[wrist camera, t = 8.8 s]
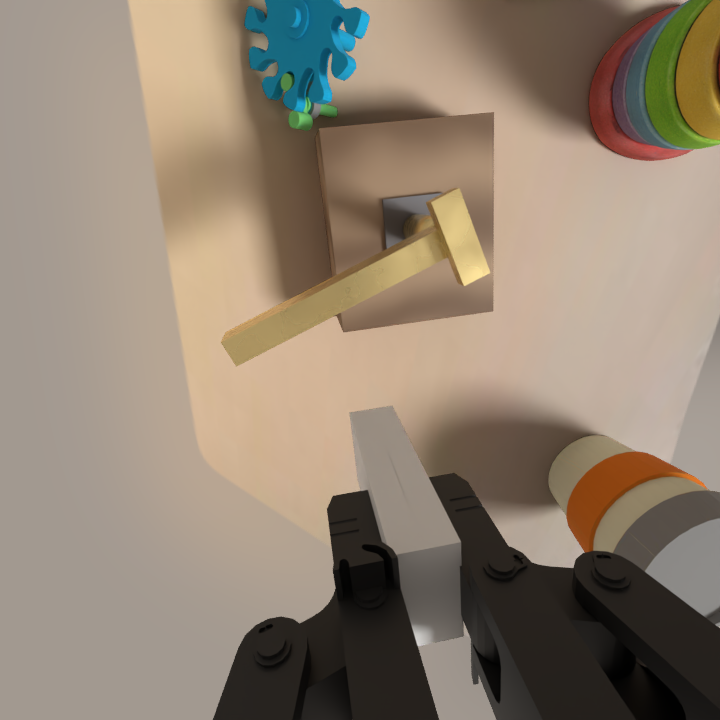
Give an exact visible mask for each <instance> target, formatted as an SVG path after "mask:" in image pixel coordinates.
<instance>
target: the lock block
mask: <svg viewBox="0 0 720 720" xmlns="http://www.w3.org/2000/svg"><path fill="white" fill-rule="evenodd" d="M315 143H316V151H317V159H318V167H319V175H320V183H321V192H322V200H323V208H324V216H325V224H326V232H327V240H328V248H329V257H330V265H331V273H332V277H333V276H335V275H337V274H339V273H341V272H343V271H345V270H347V269H349V268H351V267H353V266H355V265H357V264H358V263H360V262H362V261H364V260H366V259H368V258H370V257H372V256H374V255H376V254H378V253H380V252H382V251H384V250H385V249H387V248H389V247H391V246H393V245H395V244H397V243H399V242H401V241H403V240H405V239H406V238H405V236H404V234H403V225H404V223H405V221H406V219H407V218H408V217H410V216H411V215H414V214H422V215H430V212H429V210H428V207H427V205H426V202H427V201H429V200H431V199H433V198H435V197H437V196H439V195H441V194H442V193H444V192H446V191H448V190H450V189H452V188H460V191H461V193H462V196H463V199H464V202H465V204H466V207H467V210H468V213H469V215H470V218H471V221H472V224H473V226H474V229H475V232H476V235H477V237H478V240H479V243H480V246H481V248H482V251H483V254H484V257H485V259H486V262H487V265H488V267H489V270H490V273H489V274H487V275H485V276H483V277H481V278H479V279H477V280H475V281H474V282H472V283H470V284H468V285H466V286H462V285H460V284H458V283H457V280H456V278H455V275H454V273H453V270H452V268H451V265H450V263H449V260H448V258H446V259H444V260H442V261H440V262H438V263H436V264H434V265H432V266H430V267H428V268H426V269H424V270H422V271H420V272H418V273H416V274H415V275H413V276H411V277H409V278H407V279H405V280H403V281H401V282H399V283H397V284H395V285H393V286H391V287H389V288H387V289H385V290H384V291H382V292H380V293H378V294H376V295H374V296H372V297H370V298H368V299H366V300H364V301H362V302H360V303H358V304H356V305H354V306H353V307H351V308H349V309H347V310H345V311H343V312H341V313H339V314H337V318H338V320H339V323H340V325H341V328H342V330H343V332H349V331H356V330H363V329H371V328H378V327H385V326H392V325H399V324H406V323H413V322H420V321H427V320H434V319H441V318H449V317H456V316H463V315H470V314H477V313H484V312H491V311H493V211H494V112H491V113H480V114H469V115H458V116H448V117H437V118H426V119H415V120H404V121H393V122H382V123H371V124H360V125H350V126H339V127H328V128H319V130H318V132H317V135H316V137H315Z"/></svg>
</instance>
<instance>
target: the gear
mask: <svg viewBox="0 0 720 720" xmlns="http://www.w3.org/2000/svg"><path fill="white" fill-rule="evenodd" d="M265 3H266V7H267V18H265V15H264V13H263V11H261V10H259V9H257V8H254V7H252V6H249V7H248V9H247V12H246V17H245V24H244V25H245V27H246V28H247V29H248V30H251V31H253V32H256V33H261V32H263V33H264V34H265V35H266V36H267V38H268V42H269V44H268V49H267V51H265V50H263V49H260V48H257V47H251V48H250V49H249V61H250V67H251V68H252V69H255V70H258V71H262V72H263V71H265V70H266V69H267V67H268V66H269V65H270V64H272V63H274V62H277V63H278V72H277V74H276V76H274V77H269V76H268V77H265V78H264V80H263V82H262V87H263V90H264V92H265V94H266V96H267V97H268V98H269V99H273V100H279V99H280V98H281V97H282V94H283V91H287V92H286V93H285V95H284V98H283V103H284V105H285V106H286V107H288V108H289V109H292V110H295V111H292V112H291V113H290V115H289V118H288V121H289V125H290V126H291V127H292V128H295V129H300V130H306V131H308V130H310V129H311V127H312V124H313V119H315V118H317V117H318V115H319V114H320V115H324V116H328V117H333V118H334V117H336V116H337V113H338V110H337V108H336V107H334V106H331V105H327V103H329V102H331V100H332V91H331V89H330V86H329V83H328V78H327V67H328V59H329V56H330V54H331V53H332V64H331V70H332V74H333V75H334V77H336V78H338V79H341V80H344V81H345V80H346V79H348V78H349V77H350V76H351V74H352V73H353V72H354V70H355V69H356V62H355V60H354V59H353V58H352V57H350V56H349V55H348V54H347V53H346V52H345V51H348V52H349V51H352V50H353V48H354V46H355V38H354V37H357V38H359V39H361V38H363V36H364V35H365V32H366V30H367V26H368V23H369V19H370V17H369V15H368V14H367V13H366V12H364V11H362V10H361V9H359V8H357V7H353V8H351V9H345V8H344V7H343V6H342V5H341V4H340V0H265ZM342 22H344V26H345V29H346V31H347V32H345V31H343V30H341V29H339V28H340V25H341V23H342ZM297 111H298V112H297Z"/></svg>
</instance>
